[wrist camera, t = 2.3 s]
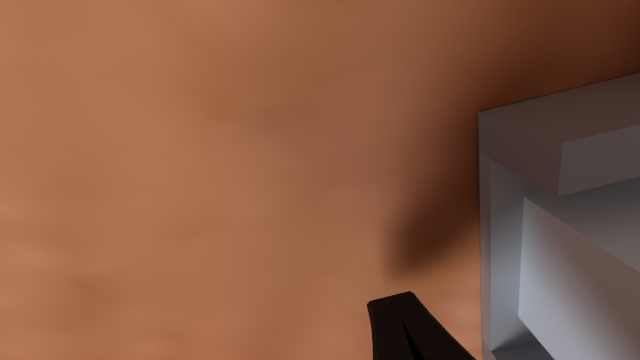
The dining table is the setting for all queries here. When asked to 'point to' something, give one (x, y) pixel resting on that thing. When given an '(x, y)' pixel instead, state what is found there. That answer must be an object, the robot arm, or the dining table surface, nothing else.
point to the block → (583, 272)
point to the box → (544, 185)
